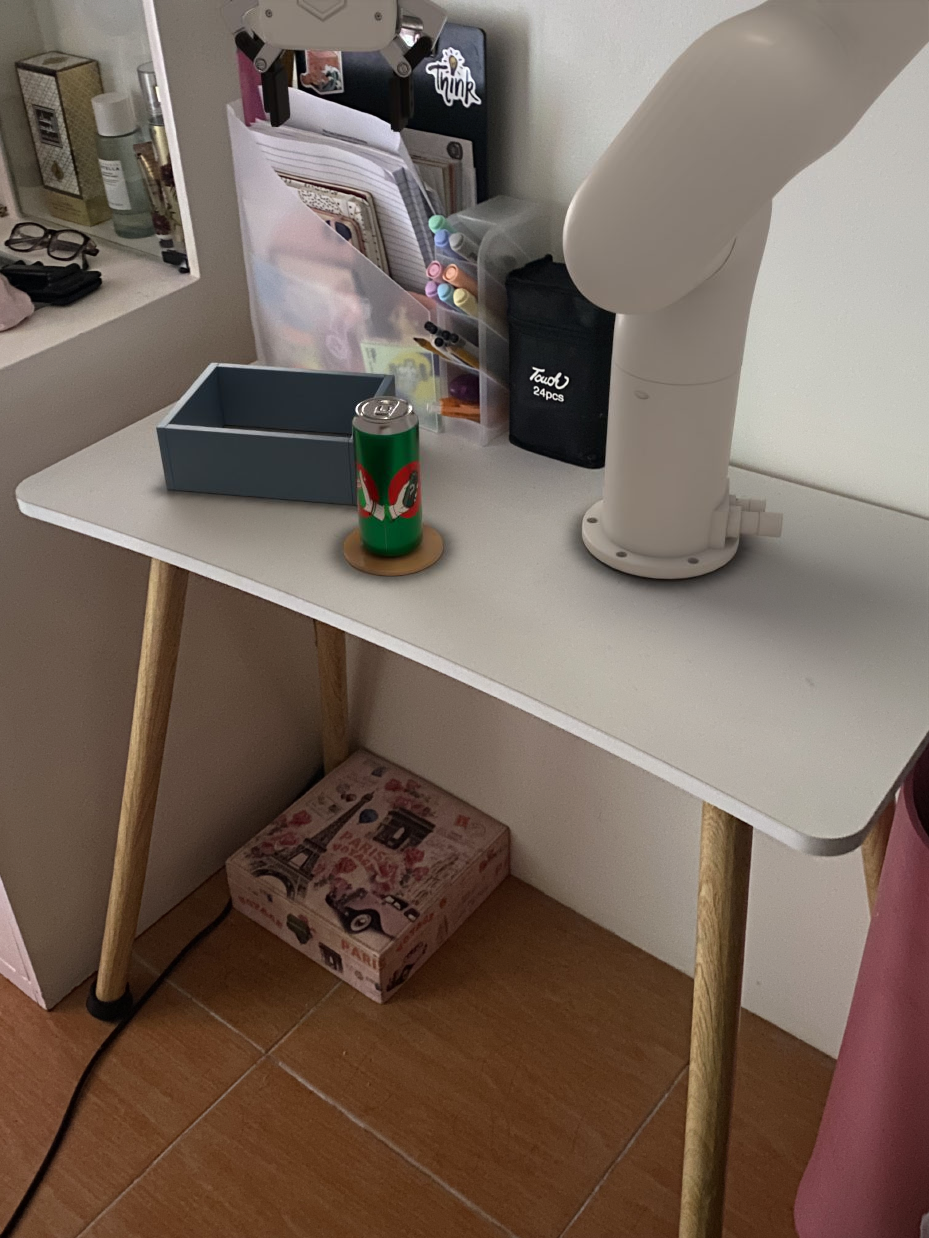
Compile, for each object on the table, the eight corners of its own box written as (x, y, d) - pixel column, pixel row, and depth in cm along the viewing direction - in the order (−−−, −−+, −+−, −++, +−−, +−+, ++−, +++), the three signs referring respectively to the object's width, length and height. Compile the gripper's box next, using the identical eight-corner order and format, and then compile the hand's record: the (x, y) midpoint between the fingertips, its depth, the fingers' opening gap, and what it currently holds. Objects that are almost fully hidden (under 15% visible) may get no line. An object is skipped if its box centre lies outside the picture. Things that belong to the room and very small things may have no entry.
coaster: (451, 527, 101) (451, 523, 101) (431, 580, 95) (431, 576, 94) (357, 519, 102) (357, 515, 102) (332, 570, 96) (331, 566, 96)
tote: (397, 433, 115) (394, 374, 111) (361, 506, 104) (357, 442, 101) (219, 420, 118) (211, 362, 114) (166, 489, 107) (155, 427, 103)
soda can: (426, 529, 100) (422, 394, 93) (418, 563, 96) (413, 424, 89) (365, 526, 100) (356, 392, 94) (355, 560, 96) (345, 422, 89)
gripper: (188, -125, 85) (219, 133, 95) (433, -122, 82) (438, 142, 92) (224, -134, 91) (249, 110, 101) (453, -132, 88) (456, 118, 98)
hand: (339, 125), depth 96 cm, fingers open, 9 cm apart
